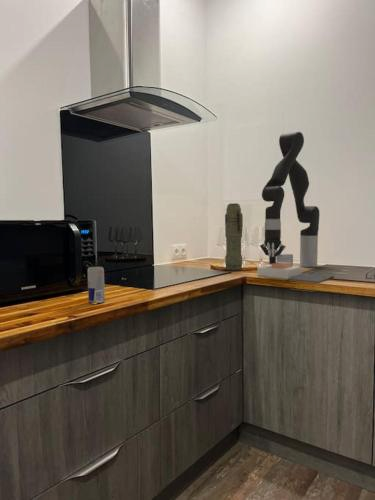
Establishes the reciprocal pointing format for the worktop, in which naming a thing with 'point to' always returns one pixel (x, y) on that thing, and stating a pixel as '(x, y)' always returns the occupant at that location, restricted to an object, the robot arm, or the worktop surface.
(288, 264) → the tile
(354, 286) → the worktop surface
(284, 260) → the medicine box
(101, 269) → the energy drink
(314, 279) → the mat
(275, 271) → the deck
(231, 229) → the thermos
